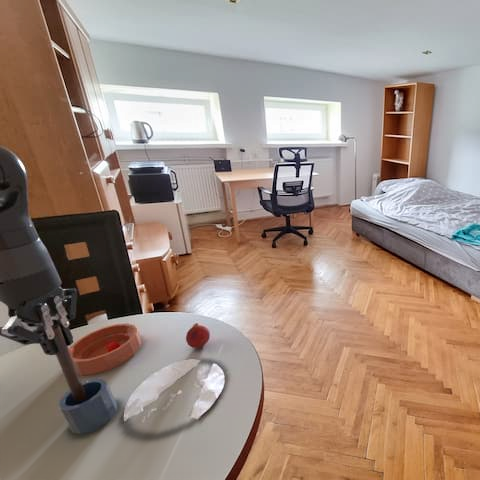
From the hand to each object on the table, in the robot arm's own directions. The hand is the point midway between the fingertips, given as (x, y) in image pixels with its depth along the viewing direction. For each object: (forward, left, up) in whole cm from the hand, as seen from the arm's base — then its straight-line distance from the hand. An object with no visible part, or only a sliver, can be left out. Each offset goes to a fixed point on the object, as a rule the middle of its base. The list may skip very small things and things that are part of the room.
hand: (61, 348), depth 55 cm
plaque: (+15, +4, -19) cm, 25 cm away
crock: (0, 0, -19) cm, 19 cm away
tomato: (-9, +21, -17) cm, 28 cm away
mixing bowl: (-10, +20, -19) cm, 29 cm away
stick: (-1, 0, -13) cm, 13 cm away
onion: (+14, +20, -19) cm, 31 cm away
